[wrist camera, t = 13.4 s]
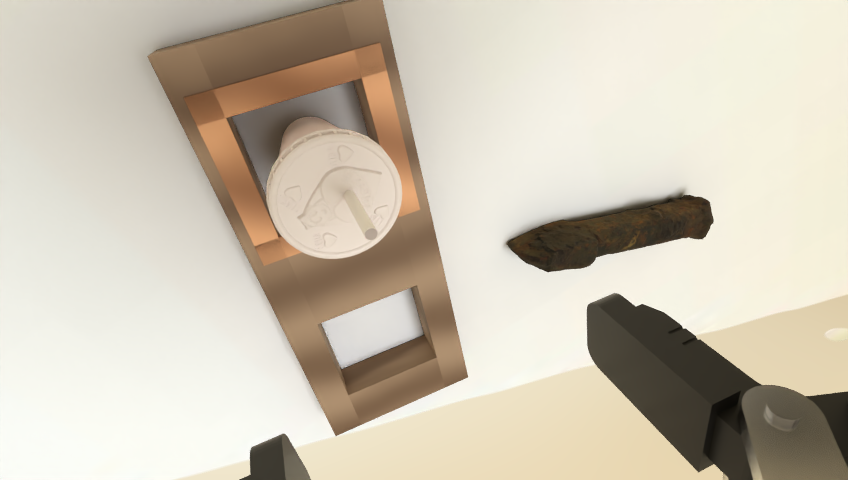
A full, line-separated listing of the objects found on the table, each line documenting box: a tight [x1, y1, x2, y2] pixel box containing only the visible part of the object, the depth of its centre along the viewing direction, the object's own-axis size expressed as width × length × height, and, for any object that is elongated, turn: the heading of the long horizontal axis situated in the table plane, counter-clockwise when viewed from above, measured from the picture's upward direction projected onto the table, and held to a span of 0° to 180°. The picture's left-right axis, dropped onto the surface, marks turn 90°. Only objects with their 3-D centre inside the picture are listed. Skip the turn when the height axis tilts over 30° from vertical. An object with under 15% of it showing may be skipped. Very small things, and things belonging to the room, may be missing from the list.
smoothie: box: [266, 117, 402, 259], centre depth 24 cm, size 6×6×14 cm
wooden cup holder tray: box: [148, 0, 468, 436], centre depth 32 cm, size 30×12×3 cm, turn 13°
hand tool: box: [507, 195, 713, 272], centre depth 40 cm, size 19×4×5 cm, turn 89°
